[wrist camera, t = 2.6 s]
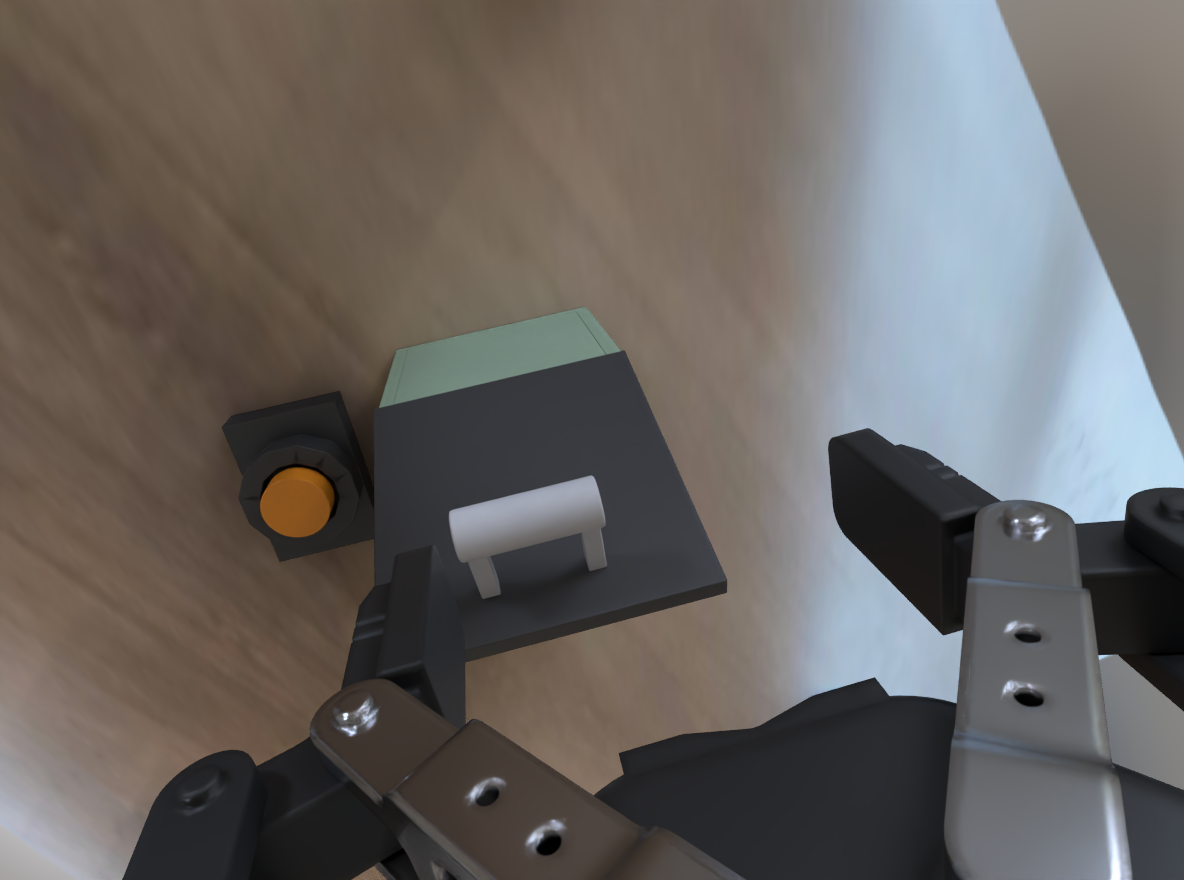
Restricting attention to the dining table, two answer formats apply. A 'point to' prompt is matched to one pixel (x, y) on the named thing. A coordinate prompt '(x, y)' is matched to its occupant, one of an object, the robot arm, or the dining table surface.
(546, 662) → the dining table surface
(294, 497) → the button
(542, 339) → the sage green box
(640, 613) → the lid
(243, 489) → the block
